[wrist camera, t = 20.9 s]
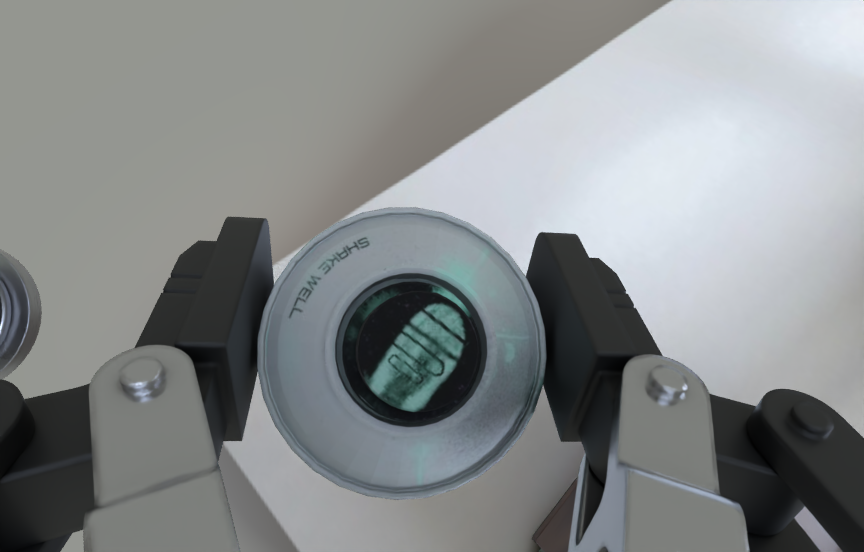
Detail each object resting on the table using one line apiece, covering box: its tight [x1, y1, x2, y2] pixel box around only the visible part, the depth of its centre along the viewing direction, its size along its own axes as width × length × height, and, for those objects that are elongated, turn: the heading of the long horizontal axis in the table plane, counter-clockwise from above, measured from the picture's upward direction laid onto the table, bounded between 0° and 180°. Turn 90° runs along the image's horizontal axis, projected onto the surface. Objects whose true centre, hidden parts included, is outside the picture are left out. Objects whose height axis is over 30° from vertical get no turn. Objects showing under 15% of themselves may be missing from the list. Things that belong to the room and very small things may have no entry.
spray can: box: [257, 208, 547, 500], centre depth 17 cm, size 6×6×20 cm
